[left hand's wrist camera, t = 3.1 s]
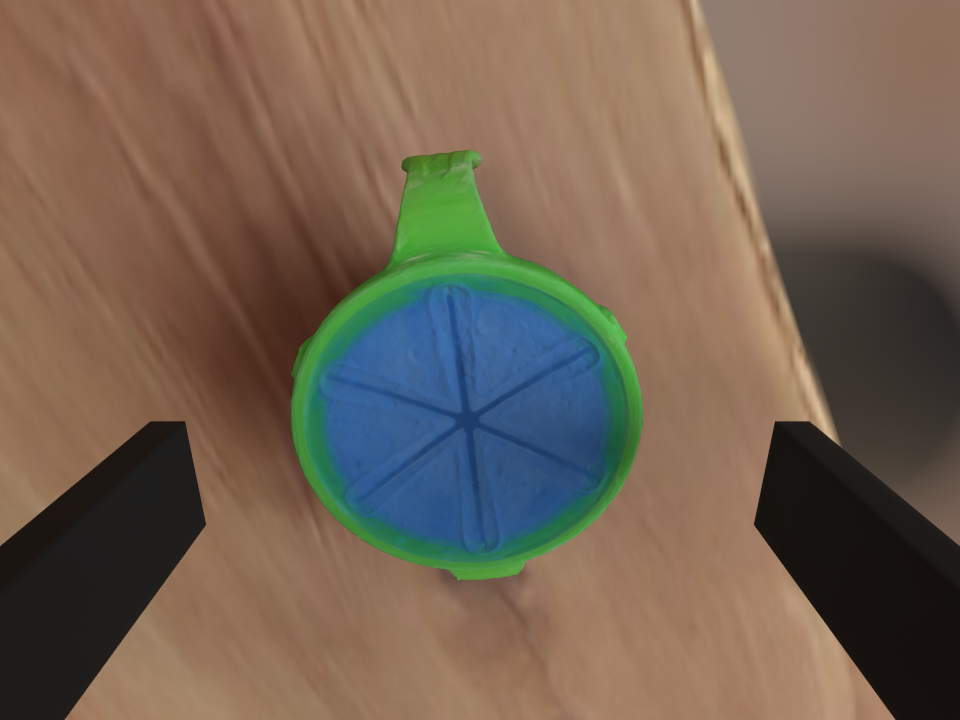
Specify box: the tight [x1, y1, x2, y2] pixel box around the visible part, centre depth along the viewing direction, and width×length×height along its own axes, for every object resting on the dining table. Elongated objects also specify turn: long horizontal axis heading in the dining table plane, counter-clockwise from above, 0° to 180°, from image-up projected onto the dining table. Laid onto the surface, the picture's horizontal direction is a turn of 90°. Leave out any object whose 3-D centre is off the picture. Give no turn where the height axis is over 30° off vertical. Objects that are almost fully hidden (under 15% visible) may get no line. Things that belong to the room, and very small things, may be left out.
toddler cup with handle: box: [291, 150, 643, 580], centre depth 19 cm, size 14×9×9 cm
